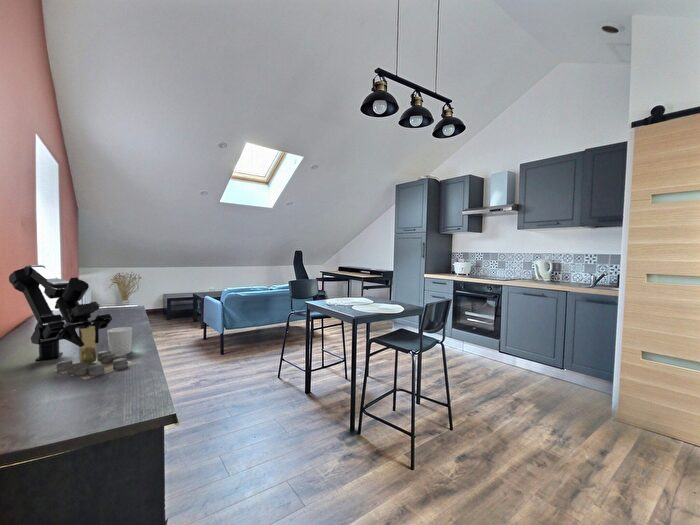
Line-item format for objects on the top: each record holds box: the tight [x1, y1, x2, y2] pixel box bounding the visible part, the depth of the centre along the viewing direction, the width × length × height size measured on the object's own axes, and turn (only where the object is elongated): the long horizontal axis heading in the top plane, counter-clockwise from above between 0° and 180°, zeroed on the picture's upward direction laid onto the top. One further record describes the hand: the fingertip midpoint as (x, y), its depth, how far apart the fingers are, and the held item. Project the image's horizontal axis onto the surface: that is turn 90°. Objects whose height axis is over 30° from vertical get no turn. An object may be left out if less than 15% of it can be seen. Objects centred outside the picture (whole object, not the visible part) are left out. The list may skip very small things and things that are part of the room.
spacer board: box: [52, 350, 138, 380], centre depth 111 cm, size 19×16×3 cm
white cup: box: [107, 326, 133, 355], centre depth 127 cm, size 8×8×10 cm
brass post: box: [78, 326, 97, 364], centre depth 113 cm, size 4×4×12 cm
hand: (89, 344), depth 112 cm, fingers open, 4 cm apart
